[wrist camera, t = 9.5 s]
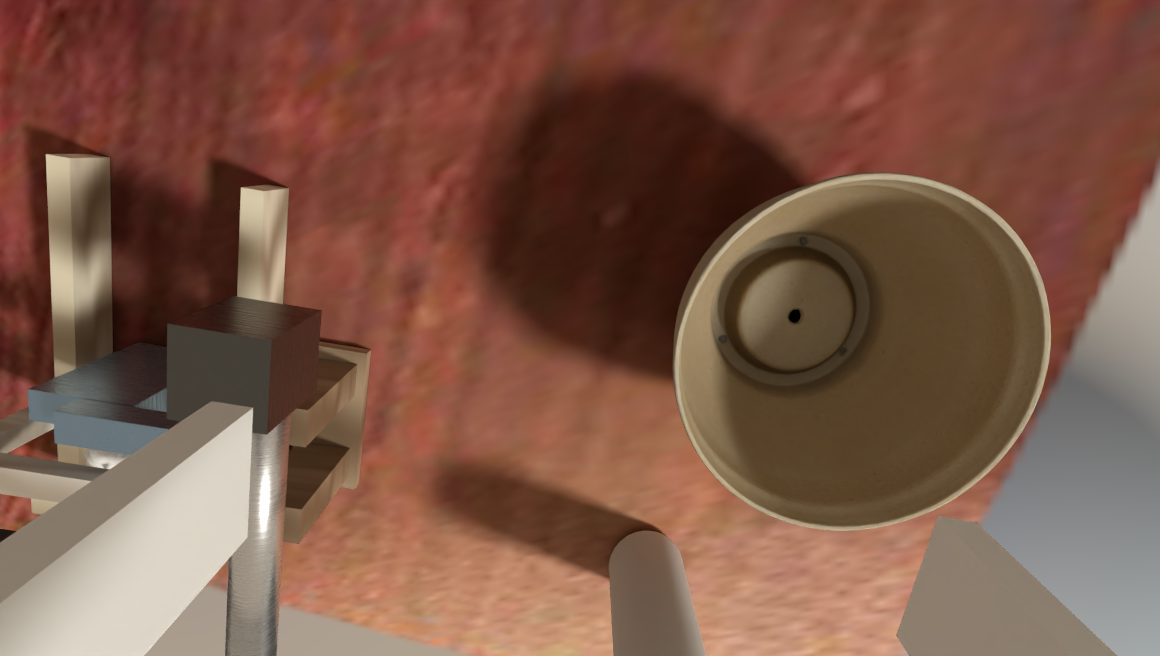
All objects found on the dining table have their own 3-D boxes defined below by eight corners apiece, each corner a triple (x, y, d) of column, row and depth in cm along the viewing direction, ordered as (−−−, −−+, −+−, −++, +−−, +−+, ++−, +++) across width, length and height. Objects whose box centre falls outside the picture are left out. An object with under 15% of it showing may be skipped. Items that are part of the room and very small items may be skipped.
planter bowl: (946, 171, 37) (1091, 179, 26) (901, 437, 41) (1010, 536, 30) (659, 162, 37) (688, 166, 26) (643, 429, 41) (663, 526, 30)
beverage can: (609, 590, 44) (618, 748, 32) (606, 526, 43) (615, 666, 31) (681, 588, 44) (716, 745, 32) (681, 524, 43) (717, 663, 31)
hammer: (137, 238, 37) (-86, 282, 25) (374, 278, 38) (271, 340, 25) (139, 557, 43) (-44, 724, 30) (346, 588, 43) (250, 765, 31)
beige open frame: (73, 151, 37) (-111, 151, 27) (303, 190, 37) (203, 204, 27) (83, 469, 42) (-70, 565, 32) (284, 500, 42) (195, 604, 33)
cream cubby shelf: (304, 338, 40) (236, 384, 32) (370, 349, 40) (319, 397, 32) (295, 473, 42) (230, 546, 34) (358, 482, 42) (307, 557, 34)
